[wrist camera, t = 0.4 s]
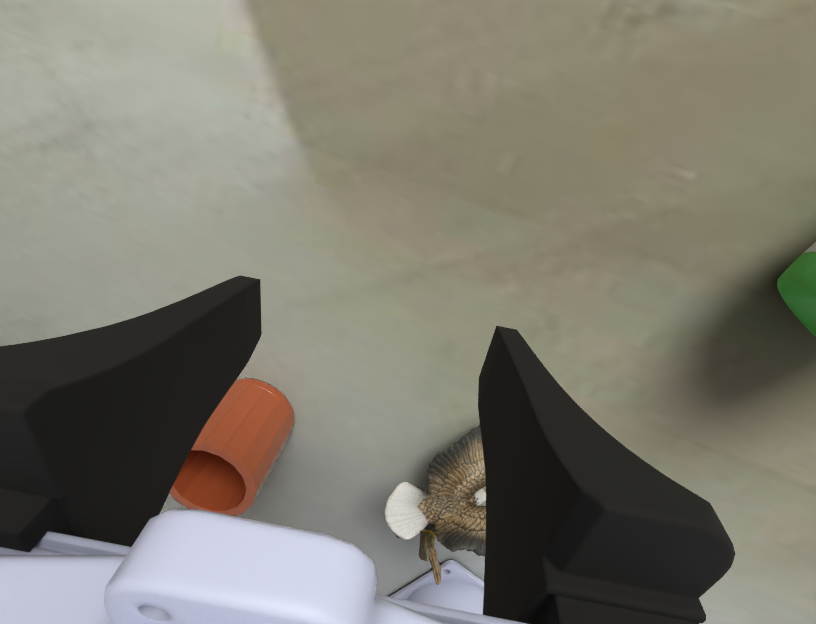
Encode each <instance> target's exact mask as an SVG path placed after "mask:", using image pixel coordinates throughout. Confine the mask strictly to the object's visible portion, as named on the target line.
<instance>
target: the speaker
mask: <svg viewBox="0 0 816 624" xmlns="http://www.w3.org/2000/svg"><path fill="white" fill-rule="evenodd" d="M777 287H778V290H779V293H780V295H781V296H782V298H783V300H784V301H785V303H786V304H787V306H788V307H789V308H790V310H791V311H792V312H793V313H794V315H795V316H796V317H797V318H798V319H799V320H800V321H801V322H802V324H803V325H804V326H805V327H806V328H807V329H808V330H809V331H810V332H811V333H812V334H813V335H814V336H815V337H816V242H815V243H814V244H813V245H811V246H810V247H809V248H808V249H807V250H806V251H804V252H803V253H802V254H801V255H800V256H799V257H798V258H797V259H796V260H795V261H794V262H793V263H792V264H791V265H790V266H789V267H788V268H787V269H786V271H785V272H784V273H783V274H782V275H781V276H780V277H779V278H778V280H777Z"/></svg>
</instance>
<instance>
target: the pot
mask: <svg viewBox="0 0 816 624" xmlns="http://www.w3.org/2000/svg"><path fill="white" fill-rule="evenodd" d="M293 427H294V413H293V409H292V407H291V405H290V403H289V401H288V400H287V399H286V397H285V396H284V395H283V394H282V393H281V392H280V391H278V390H277V389H276V388H274V387H273V386H271V385H269V384H267V383H265V382H262V381H259V380H255V379H238V380H235V382H234V383H233V385H232V386H231V388H230V389H229V390H228V392H227V393H226V395H225V396H224V398H223V399H222V401H221V402H220V403H219V405H218V406H217V408H216V409H215V411H214V412H213V414H212V415H211V416H210V418H209V420H208V421H207V423H206V424H205V426H204V427H203V429H202V431H201V433H200V434H199V436H198V438H197V440H196V442H195V444H194V446H193V447H192V449H191V451H190V453H189V455H188V457H187V459H186V461H185V462H184V464H183V466H182V468H181V470H180V472H179V474H178V476H177V478H176V480H175V482H174V484H173V486H172V488H171V490H170V492H169V493H170V494H171V495H172V497H173V498H174V499H175V500H176V501H177V502H179V503H181V504H182V505H184V506H185V507H187V508H188V509H199V510H205V511H210V512H216V513H221V514H226V515H231V516H237V515H240V514H242V513H244V512H245V511H246V510H247V509H248V508H249V507H250V506H251V505H252V504H253V503H254V501H255V499H256V497H257V495H258V494H259V492H260V490H261V488H262V486H263V484H264V483H265V481H266V479H267V477H268V475H269V473H270V472H271V470H272V468H273V466H274V464H275V462H276V461H277V459H278V457H279V455H280V453H281V451H282V449H283V448H284V446H285V444H286V442H287V440H288V438H289V435H290V433H291V432H292V429H293Z"/></svg>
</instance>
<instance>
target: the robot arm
mask: <svg viewBox="0 0 816 624" xmlns="http://www.w3.org/2000/svg"><path fill="white" fill-rule="evenodd" d="M260 337H261V297H260V279H255V278H250V277H245V276H237V277H235V278H232V279H229V280H227V281H225V282H222V283H220V284H218V285H215V286H213V287H211V288H209V289H206V290H204V291H202V292H200V293H197V294H195V295H193V296H190V297H188V298H186V299H183V300H181V301H178V302H176V303H173V304H171V305H168V306H166V307H163V308H160V309H158V310H155V311H153V312H150V313H147V314H144V315H141V316H138V317H135V318H132V319H129V320H126V321H122V322H119V323H116V324H112V325H109V326H105V327H101V328H97V329H92V330H88V331H84V332H80V333H75V334H71V335H67V336H62V337H57V338H52V339H46V340H40V341H35V342H28V343H22V344H15V345H8V346H1V347H0V624H699V623H703V622H704V621H706V614H705V612H704V610H703V607H702V605H701V603H700V601H699V597H700V596H701V595H702V594H704V593H705V592H706V591H707V590H708V589H709V588H710V587H712V586H713V585H714V584H715V583H716V582H717V581H718V580H719V579H721V578H722V577H723V576H724V574H725V573H726V572H727V571H728V570H729V568H730V567H731V565H732V563H733V560H734V556H735V551H734V547H733V543H732V542H731V540H730V538H729V536H728V534H727V533H726V531H725V529H724V527H723V525H722V524H721V522H720V520H719V518H718V516H717V515H716V513H715V511H714V509H713V507H712V506H711V504H710V503H709V502H707V501H706V500H704V499H703V498H701V497H699V496H698V495H696V494H694V493H693V492H691V491H689V490H688V489H686V488H685V487H683V486H681V485H680V484H678V483H676V482H675V481H673V480H671V479H670V478H668V477H667V476H665V475H664V474H662V473H661V472H659V471H658V470H656V469H655V468H654V467H652V466H651V465H649V464H648V463H646V462H645V461H643V460H642V459H641V458H639V457H638V456H637V455H635V454H634V453H633V452H631V451H630V450H629V449H627V448H626V447H625V446H623V445H622V444H621V443H620V442H619V441H617V440H616V439H615V438H614V437H612V436H611V435H610V434H609V433H607V432H606V431H605V430H604V429H603V428H602V427H601V426H599V425H598V424H597V423H596V422H595V421H594V420H593V419H592V418H591V417H590V416H589V415H588V414H587V413H586V412H584V411H583V410H582V409H581V408H580V407H579V406H578V405H577V404H576V403H575V402H574V401H573V400H572V398H571V397H570V396H569V395H568V394H567V393H566V392H565V391H564V390H563V388H562V387H561V386H560V385H559V384H558V383H557V382H556V380H555V379H554V378H553V377H552V376H551V374H550V373H549V372H548V371H547V369H546V368H545V367H544V366H543V364H542V363H541V362H540V360H539V359H538V358H537V356H536V355H535V354H534V352H533V351H532V350H531V348H530V347H529V345H528V344H527V343H526V341H525V340H524V339H523V337H522V336H521V335H520V333H519V332H518V331H517V330H515V329H510V328H505V327H500V326H496V329H495V332H494V335H493V338H492V341H491V344H490V347H489V350H488V353H487V356H486V359H485V361H484V364H483V367H482V370H481V373H480V376H479V393H478V409H479V419H480V429H481V438H482V447H483V456H484V465H485V478H486V542H485V574H484V582H483V581H482V580H481V579H479V578H478V577H477V576H475V575H474V574H472V573H471V572H470V571H468V570H467V569H465V568H464V567H463V566H461V565H460V564H459V563H457V562H456V561H454V560H448V561H446V562H444V563H443V564H441V565H440V567H441V582H440V584H439V585H437V584H436V582H435V579H434V575H433V570H432V571H430V572H428V573H427V574H425V575H424V576H422V577H420V578H419V579H417V580H415V581H414V582H412V583H411V584H409V585H407V586H406V587H404V588H403V589H401V590H399V591H398V592H396V593H394V594H393V595H391V596H390V597H387V596H382V595H377V594H375V592H376V586H377V579H378V577H377V573H376V569H375V565H374V562H373V561H372V559H371V558H370V557H369V556H368V555H367V554H365V553H364V552H363V551H362V550H361V549H359V548H358V547H357V546H356V545H355V544H353V543H351V542H348V541H346V540H343V539H340V538H337V537H334V536H331V535H328V534H324V533H319V532H314V531H309V530H303V529H298V528H293V527H288V526H283V525H278V524H272V523H267V522H262V521H257V520H252V519H247V518H241V517H236V516H231V515H226V514H221V513H216V512H210V511H205V510H199V509H172V510H168V511H166V512H164V513H161V514H159V513H160V511H161V509H162V507H163V505H164V503H165V501H166V499H167V496H168V494H169V492H170V490H171V488H172V486H173V484H174V482H175V480H176V478H177V476H178V474H179V472H180V470H181V468H182V466H183V464H184V462H185V461H186V459H187V457H188V455H189V453H190V451H191V449H192V447H193V446H194V444H195V442H196V440H197V438H198V436H199V434H200V433H201V431H202V429H203V427H204V426H205V424H206V423H207V421H208V420H209V418H210V416H211V415H212V414H213V412H214V411H215V409H216V408H217V406H218V405H219V403H220V402H221V401H222V399H223V398H224V396H225V395H226V393H227V392H228V390H229V389H230V388H231V386H232V385H233V383H234V382H235V380H236V379H237V377H238V376H239V375H240V373H241V372H242V370H243V369H244V367H245V366H246V364H247V363H248V361H249V359H250V357H251V355H252V353H253V351H254V349H255V347H256V345H257V343H258V341H259V339H260Z"/></svg>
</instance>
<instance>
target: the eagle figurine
mask: <svg viewBox="0 0 816 624" xmlns="http://www.w3.org/2000/svg"><path fill="white" fill-rule="evenodd" d="M427 471H428V473H429V477H428V482H429V485H428V486H427V489H428V492H425V491H424V489H423V488H419V487H415V486H413V485H412V484H410V483H408V482H402V483H400V484H399V485H398V486H397V487H396V488H395V489H394V491H393V492H392V494H391V495H390V496H389V497H388V499H387V501H386V507H385V510H384V514H385V519H386V523H387V524H388V526H389V527H390V529H391V530H392V531H393V532H394V533H395V534H396V537H398V538H399V537H400V538H402V539H404V540H410V539H412V538H414V537H415V536H416V535H417V534H418V533H419V532H420V549H419V557H420V559H421V560H425V561H428V559H429V560H430V562H431V565H432V569H433V575H434V579H435V582H436V584H437V585H439V584H440V582H441V567H440V565H439V562H438V559H437V554H436V550H435V548H434V540H435V535H436V536H437V540H438V541H441V544H442V545H444V546H445V547H446V548H447V549H449V550H450V551H452V552H455V551H456V550H463V549H466V550H467V551H473V552H474V553H476V554H477V555H479V556H480V555H483V556H485V542H486V506H480V505H481V504H482V503H483V502H485V501H486V491H485V490H483V489H482V488H483V487H484V486H485V485H486V478H485V465H484V456H483V447H482V438H481V429H480V426H479V427H478V428H474V429H472V430H471V432H470V434H469V435H466V436H465V437H462V438H461V440H460V442H459V443H455V444H454V445H453V446H450V447H449V449H448V450H447V451H446V450H443V451H442V452H438V454H437V455H436V456H435V457H434V458H433V461H432V462H430V463H429V468H428V470H427ZM435 531H436V533H435Z"/></svg>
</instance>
